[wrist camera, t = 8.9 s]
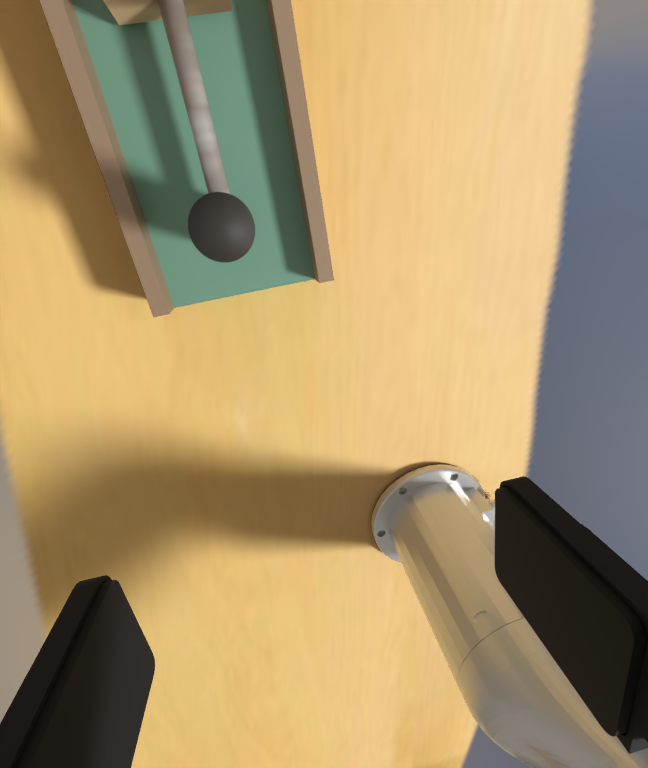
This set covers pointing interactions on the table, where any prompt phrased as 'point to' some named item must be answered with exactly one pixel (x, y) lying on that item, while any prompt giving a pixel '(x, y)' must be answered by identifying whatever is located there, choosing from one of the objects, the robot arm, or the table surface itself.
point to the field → (178, 150)
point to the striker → (198, 128)
